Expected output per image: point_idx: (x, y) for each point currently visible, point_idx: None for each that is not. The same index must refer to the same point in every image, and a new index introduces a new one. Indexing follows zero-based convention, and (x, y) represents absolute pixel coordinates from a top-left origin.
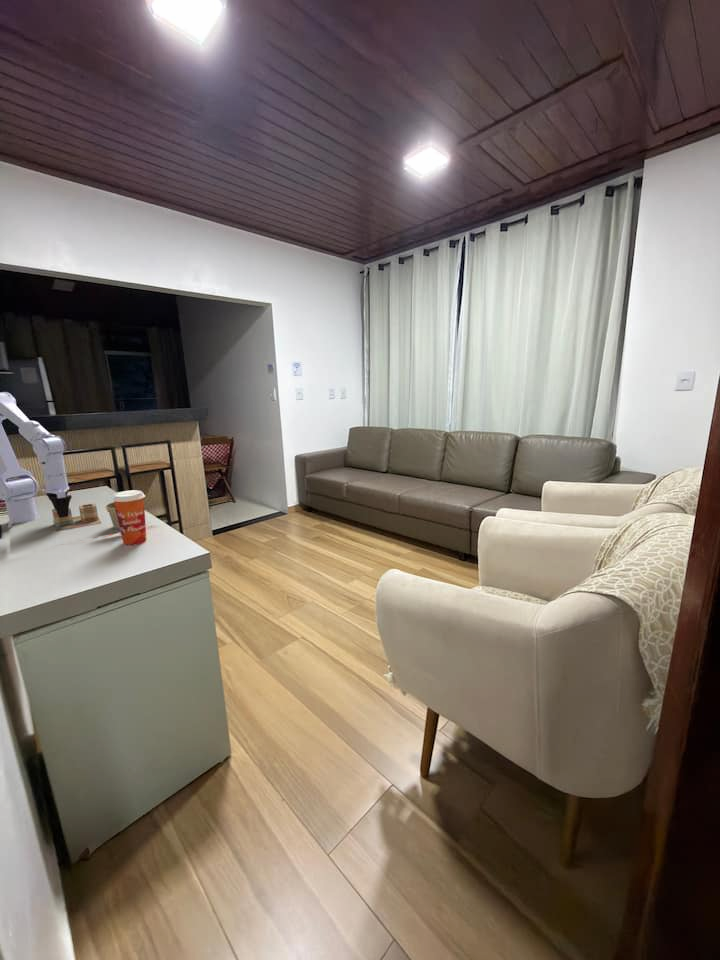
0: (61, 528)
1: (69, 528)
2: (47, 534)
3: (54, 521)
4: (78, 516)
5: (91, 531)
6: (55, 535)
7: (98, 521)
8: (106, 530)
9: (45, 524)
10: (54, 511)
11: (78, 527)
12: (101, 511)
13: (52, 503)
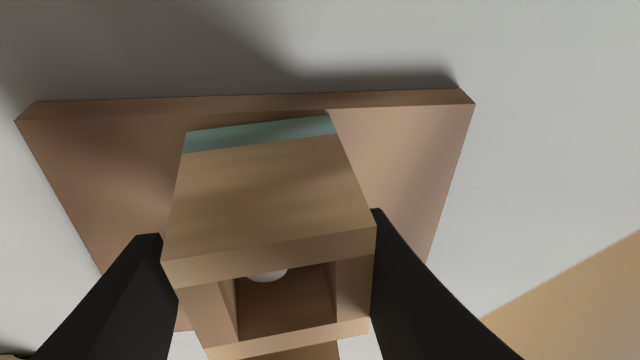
0: (118, 160)
1: (85, 207)
2: (108, 29)
3: (303, 135)
4: (425, 246)
5: (51, 278)
6: (34, 92)
7: (190, 324)
8: (39, 327)
9: (518, 22)
10: (165, 267)
11: (90, 251)
12: (493, 304)
13: (435, 313)
